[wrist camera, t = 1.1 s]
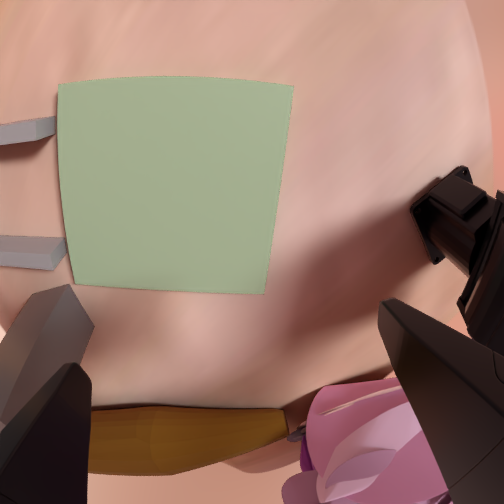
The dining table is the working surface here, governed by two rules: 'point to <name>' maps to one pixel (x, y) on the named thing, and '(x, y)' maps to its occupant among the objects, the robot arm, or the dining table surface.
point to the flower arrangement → (364, 450)
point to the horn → (177, 438)
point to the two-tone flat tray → (162, 182)
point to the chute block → (40, 346)
